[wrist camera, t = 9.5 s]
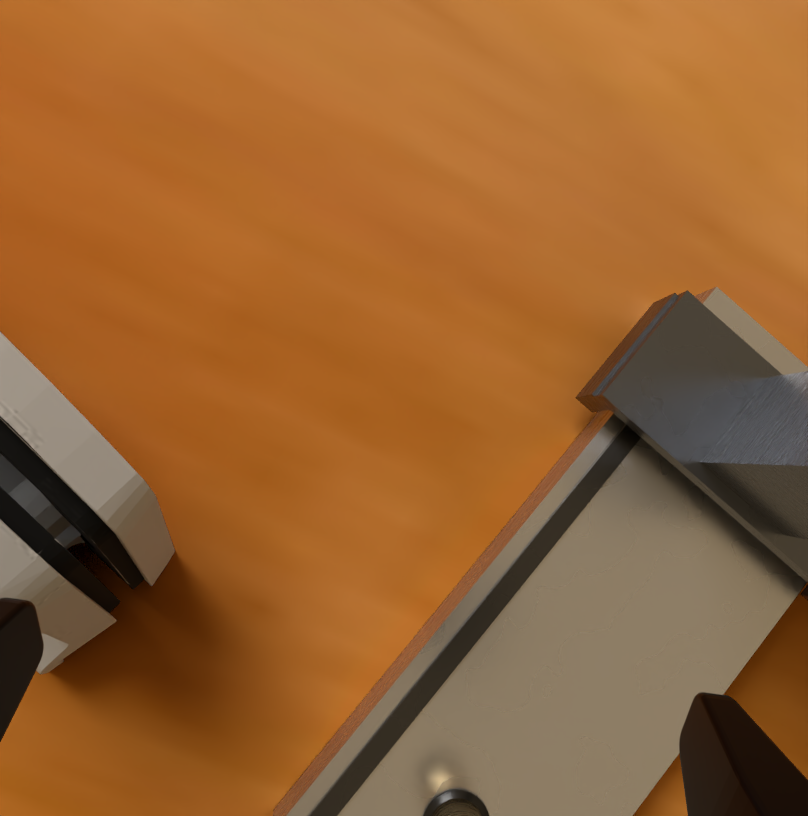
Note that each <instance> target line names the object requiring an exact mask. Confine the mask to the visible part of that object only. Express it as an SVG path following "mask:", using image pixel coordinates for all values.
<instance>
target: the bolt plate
mask: <svg viewBox="0 0 808 816" xmlns="http://www.w3.org/2000/svg"><path fill="white" fill-rule="evenodd" d="M694 297H695V298H697V299H698V300H699V301H700V302H701V303H702V304H703V305H704V306H706V307H707V308H708V309H709V310H710V311H711V312H712V313H713V314H715V315H716V316H717V317H718V318H719V319H720V320H721V321H722V322H724V323H725V324H726V325H727V326H728V327H729V328H730V329H732V330H733V331H734V332H735V333H736V334H737V335H738V336H739V337H741V338H742V339H743V340H744V341H745V342H746V343H747V344H748V345H750V346H751V347H752V348H753V349H754V350H755V351H756V352H757V353H759V354H760V355H761V356H762V357H763V358H764V359H765V360H767V361H768V362H769V363H770V364H771V365H772V366H773V367H774V368H776V369H777V370H778V371H779V372H780V373H781V374H782V375H787V374H793V373H799V372H805V371H808V367H807V366H806V365H804V364H803V363H802V362H801V361H800V360H799V359H798V358H797V357H795V356H794V355H793V354H792V353H791V352H790V351H789V350H787V349H786V348H785V347H784V346H783V345H782V344H781V343H780V342H778V341H777V340H776V339H775V338H774V337H773V336H772V335H771V334H769V333H768V332H767V331H766V330H765V329H764V328H763V327H762V326H760V325H759V324H758V323H757V322H756V321H755V320H754V319H753V318H751V317H750V316H749V315H748V314H747V313H746V312H745V311H744V310H742V309H741V308H740V307H739V306H738V305H737V304H736V303H735V302H733V301H732V300H731V299H730V298H729V297H728V296H727V295H726V294H724V293H723V292H722V291H721V290H720V289H719V288H718V287H714V288H712V289H710V290H708V291H705V292H703V293H701V294H698V295H696V296H694ZM806 583H807V582H806V581H805V580H804V579H803V578H802V577H800V576H799V575H798V574H797V573H796V572H795V571H794V570H792V569H791V568H790V567H789V566H788V565H787V564H786V563H784V562H783V561H782V560H781V559H780V558H779V557H778V556H776V555H775V554H774V553H773V552H772V551H771V550H769V549H768V548H767V547H766V546H765V545H764V544H763V543H761V542H760V541H759V540H758V539H757V538H756V537H755V536H753V535H752V534H751V533H750V532H749V531H748V530H747V529H745V528H744V527H743V526H742V525H741V524H740V523H739V522H737V521H736V520H735V519H734V518H733V517H732V516H731V515H729V514H728V513H727V512H726V511H725V510H724V509H723V508H721V507H720V506H719V505H718V504H717V503H716V502H715V501H713V500H712V499H711V498H710V497H709V496H708V495H707V494H705V493H704V492H703V491H702V490H701V489H700V488H699V487H697V486H696V485H695V484H694V483H693V482H692V481H691V480H689V479H688V478H687V477H686V476H685V475H684V474H683V473H681V472H680V471H679V470H678V469H677V468H676V467H675V466H673V465H672V464H671V463H670V462H669V461H668V460H667V459H665V458H664V457H663V456H662V455H661V454H660V453H659V452H657V451H656V450H655V449H654V448H653V447H652V446H651V445H649V444H648V443H647V442H646V441H645V440H644V439H642V438H641V437H640V436H639V435H638V434H637V433H636V432H634V431H633V430H632V429H631V428H630V427H629V426H628V425H626V424H625V423H624V422H623V421H622V420H621V419H620V418H618V417H617V416H616V415H615V414H614V413H613V412H612V411H610V410H605V411H599V412H598V413H597V414H596V416H595V417H594V418H593V419H592V420H591V422H590V423H589V424H588V425H587V427H586V428H585V429H584V430H583V432H582V433H581V434H580V435H579V436H578V438H577V439H576V440H575V441H574V443H573V444H572V445H571V446H570V447H569V449H568V450H567V451H566V452H565V454H564V455H563V456H562V457H561V458H560V460H559V461H558V462H557V463H556V465H555V466H554V467H553V468H552V469H551V471H550V472H549V473H548V474H547V476H546V477H545V478H544V479H543V480H542V482H541V483H540V484H539V485H538V487H537V488H536V489H535V490H534V492H533V493H532V494H531V495H530V496H529V498H528V499H527V500H526V501H525V503H524V504H523V505H522V506H521V507H520V509H519V510H518V511H517V512H516V514H515V515H514V516H513V517H512V518H511V520H510V521H509V522H508V523H507V525H506V526H505V527H504V528H503V529H502V531H501V532H500V533H499V534H498V536H497V537H496V538H495V539H494V541H493V542H492V543H491V544H490V545H489V547H488V548H487V549H486V550H485V552H484V553H483V554H482V555H481V556H480V558H479V559H478V560H477V561H476V563H475V564H474V565H473V566H472V567H471V569H470V570H469V571H468V572H467V574H466V575H465V576H464V577H463V578H462V580H461V581H460V582H459V583H458V585H457V586H456V587H455V588H454V589H453V591H452V592H451V593H450V594H449V596H448V597H447V598H446V599H445V601H444V602H443V603H442V604H441V605H440V607H439V608H438V609H437V610H436V612H435V613H434V614H433V615H432V616H431V618H430V619H429V620H428V621H427V623H426V624H425V625H424V626H423V627H422V629H421V630H420V631H419V632H418V634H417V635H416V636H415V637H414V638H413V640H412V641H411V642H410V643H409V645H408V646H407V647H406V648H405V649H404V651H403V652H402V653H401V654H400V656H399V657H398V658H397V659H396V661H395V662H394V663H393V664H392V665H391V667H390V668H389V669H388V670H387V672H386V673H385V674H384V675H383V676H382V678H381V679H380V680H379V681H378V683H377V684H376V685H375V686H374V687H373V689H372V690H371V691H370V692H369V694H368V695H367V696H366V697H365V698H364V700H363V701H362V702H361V703H360V705H359V706H358V707H357V708H356V709H355V711H354V712H353V713H352V714H351V716H350V717H349V718H348V719H347V721H346V722H345V723H344V724H343V725H342V727H341V728H340V729H339V730H338V732H337V733H336V734H335V735H334V736H333V738H332V739H331V740H330V741H329V743H328V744H327V745H326V746H325V747H324V749H323V750H322V751H321V752H320V754H319V755H318V756H317V757H316V758H315V760H314V761H313V762H312V763H311V765H310V766H309V767H308V768H307V769H306V771H305V772H304V773H303V774H302V776H301V777H300V778H299V779H298V781H297V782H296V783H295V784H294V785H293V787H292V788H291V789H290V790H289V792H288V793H287V794H286V795H285V796H284V798H283V799H282V800H281V801H280V803H279V804H278V805H277V806H276V807H275V809H274V811H273V816H633V814H634V813H635V812H636V810H637V809H638V808H639V806H640V805H641V804H642V802H643V801H644V800H645V798H646V797H647V796H648V794H649V793H650V792H651V790H652V789H653V788H654V786H655V785H656V784H657V782H658V781H659V780H660V778H661V777H662V776H663V774H664V773H665V772H666V770H667V769H668V768H669V766H670V765H671V764H672V762H673V761H674V760H675V758H676V757H677V756H678V754H679V753H680V752H679V739H680V734H681V730H682V728H683V725H684V722H685V720H686V717H687V714H688V712H689V709H690V706H691V704H692V701H693V699H694V697H695V696H696V695H697V694H698V693H700V692H706V693H713V694H720V695H723V694H724V693H725V691H726V690H727V689H728V687H729V686H730V685H731V683H732V682H733V681H734V679H735V678H736V677H737V675H738V674H739V673H740V671H741V670H742V669H743V667H744V666H745V665H746V663H747V662H748V661H749V659H750V658H751V657H752V655H753V654H754V653H755V651H756V650H757V649H758V647H759V646H760V645H761V643H762V642H763V641H764V639H765V638H766V637H767V635H768V634H769V633H770V631H771V630H772V629H773V627H774V626H775V625H776V623H777V622H778V621H779V619H780V618H781V617H782V615H783V614H784V613H785V611H786V610H787V608H788V607H789V606H790V604H791V603H792V602H793V600H794V599H795V598H796V596H797V595H798V594H799V592H800V591H801V590H802V588H803V587H804V586H805V584H806Z"/></svg>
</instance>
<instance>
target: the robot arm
mask: <svg viewBox="0 0 808 816" xmlns="http://www.w3.org/2000/svg"><path fill="white" fill-rule="evenodd" d="M43 650H44V643H43V638H42V633H41V629H40V624H39V620H38V616H37V611H36V608H35V606H34V604H33V603H32V602H31V601H28V600H22V599H14V598H0V742H1V740H2V738H3V736H4V734H5V732H6V730H7V728H8V726H9V724H10V722H11V720H12V718H13V716H14V714H15V712H16V710H17V708H18V706H19V704H20V702H21V700H22V698H23V696H24V693H25V691H26V689H27V687H28V685H29V683H30V681H31V679H32V677H33V675H34V673H35V671H36V669H37V667H38V665H39V663H40V661H41V658H42V655H43ZM679 752H680V760H681V767H682V775H683V782H684V789H685V797H686V804H687V811H688V816H808V780H807V779H806V777H805V776H804V775H803V774H802V773H801V772H800V771H799V770H798V769H797V768H796V767H795V765H794V764H793V763H792V762H791V761H790V760H789V759H788V758H787V757H786V756H785V755H784V753H783V752H782V751H781V750H780V749H779V748H778V747H777V746H776V745H775V744H774V742H773V741H772V740H771V739H770V738H769V737H768V736H767V735H766V734H765V733H764V732H763V730H762V729H761V728H760V727H759V726H758V725H757V724H756V723H755V722H754V721H753V719H752V718H751V717H750V716H749V715H748V714H747V713H746V712H745V711H744V710H743V709H742V707H741V706H740V705H739V704H738V703H737V702H736V701H735V700H734V699H732V698H731V697H729V696H726V695H720V694H713V693H706V692H700V693H698V694H697V695H696V696H695V697H694V699H693V701H692V704H691V706H690V709H689V712H688V714H687V717H686V720H685V722H684V725H683V728H682V730H681V734H680V739H679Z"/></svg>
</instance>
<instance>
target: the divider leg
mask: <svg viewBox="0 0 808 816" xmlns="http://www.w3.org/2000/svg"><path fill="white" fill-rule="evenodd" d="M576 399H577V400H579V401H580V402H581V403H582V404H583V405H584V406H585V407H587V408H588V409H589V410H590V411H591V412H598V411H605V410H610V411H612V412H613V413H614V414H615V415H616V416H617V417H618V418H620V419H621V420H622V421H623V422H624V423H625V424H626V425H628V426H629V427H630V428H631V429H632V430H633V431H634V432H636V433H637V434H638V435H639V436H640V437H641V438H642V439H644V440H645V441H646V442H647V443H648V444H649V445H651V446H652V447H653V448H654V449H655V450H656V451H657V452H659V453H660V454H661V455H662V456H663V457H664V458H665V459H667V460H668V461H669V462H670V463H671V464H672V465H673V466H675V467H676V468H677V469H678V470H679V471H680V472H681V473H683V474H684V475H685V476H686V477H687V478H688V479H689V480H691V481H692V482H693V483H694V484H695V485H696V486H697V487H699V488H700V489H701V490H702V491H703V492H704V493H705V494H707V495H708V496H709V497H710V498H711V499H712V500H713V501H715V502H716V503H717V504H718V505H719V506H720V507H721V508H723V509H724V510H725V511H726V512H727V513H728V514H729V515H731V516H732V517H733V518H734V519H735V520H736V521H737V522H739V523H740V524H741V525H742V526H743V527H744V528H745V529H747V530H748V531H749V532H750V533H751V534H752V535H753V536H755V537H756V538H757V539H758V540H759V541H760V542H761V543H763V544H764V545H765V546H766V547H767V548H768V549H769V550H771V551H772V552H773V553H774V554H775V555H776V556H778V557H779V558H780V559H781V560H782V561H783V562H784V563H786V564H787V565H788V566H789V567H790V568H791V569H792V570H794V571H795V572H796V573H797V574H798V575H799V576H800V577H802V578H803V579H804V580H805V581H806V582H807V583H808V371H805V372H799V373H793V374H787V375H782V374H781V373H780V372H779V371H778V370H777V369H776V368H774V367H773V366H772V365H771V364H770V363H769V362H768V361H767V360H765V359H764V358H763V357H762V356H761V355H760V354H759V353H757V352H756V351H755V350H754V349H753V348H752V347H751V346H750V345H748V344H747V343H746V342H745V341H744V340H743V339H742V338H741V337H739V336H738V335H737V334H736V333H735V332H734V331H733V330H732V329H730V328H729V327H728V326H727V325H726V324H725V323H724V322H722V321H721V320H720V319H719V318H718V317H717V316H716V315H715V314H713V313H712V312H711V311H710V310H709V309H708V308H707V307H706V306H704V305H703V304H702V303H701V302H700V301H699V300H698V299H697V298H695V297H694V296H693V295H692V294H691V293H690V292H689V291H685V292H683V293H681V294H679V295H677V294H676V293H674V294H671V295H669V296H667V297H665V298H663V299H661V300H659V301H656V302H654V303H653V304H652V305H651V307H650V308H649V309H648V310H647V311H646V313H645V314H644V315H643V316H642V318H641V319H640V320H639V321H638V322H637V324H636V325H635V326H634V327H633V328H632V330H631V331H630V332H629V333H628V334H627V336H626V337H625V338H624V339H623V341H622V342H621V343H620V344H619V345H618V347H617V348H616V349H615V350H614V351H613V353H612V354H611V355H610V356H609V358H608V359H607V360H606V361H605V362H604V364H603V365H602V366H601V367H600V368H599V370H598V371H597V372H596V373H595V375H594V376H593V377H592V378H591V379H590V381H589V382H588V383H587V384H586V385H585V387H584V388H583V389H582V390H581V392H580V393H579V394H578V395H577V396H576ZM801 595H802V596H803V597H804V598H805V599H807V600H808V585H807V586H806V588H805V589H804V591H803V592H802V593H801Z"/></svg>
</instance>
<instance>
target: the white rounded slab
mask: <svg viewBox="0 0 808 816" xmlns="http://www.w3.org/2000/svg"><path fill="white" fill-rule="evenodd" d="M79 543H86V544H87V545H88V546H89V547H90V549H91V550H92V551H93V552H94V553H95V554H96V555H97V556H98V557H99V558H100V559H101V560H102V561H103V562H105V563H106V564H107V565H108V566H109V567H110V568H111V569H112V570H113V571H114V572H115V573H116V574H117V575H118V576H119V577H120V578H121V579H122V580H123V581H124V582H125V583H127V584H128V585H129V586H130V587H131V588H132V589H135V588H136V587H137V586H138V585H139V584H140V583H141V582H142V581H143V580H145V581H146V582H148V583H149V584H150V585H151V586H153V584H154V583H155V581H156V580H157V578H158V577H159V575H160V574H161V572H162V571H163V569H164V568H165V567H166V565H167V564H168V562H169V560H170V559H171V557H172V555H173V554H174V552H175V549H174V546H173V543H172V540H171V538H170V535H169V532H168V529H167V526H166V523H165V520H164V518H163V515H162V512H161V509H160V506H159V503H158V501H157V498H156V496H155V494H154V492H153V491H152V490H151V488H150V487H149V486H148V485H147V483H146V482H145V481H144V479H143V478H142V477H141V476H140V475H139V474H138V473H137V472H136V471H135V470H134V469H133V468H132V467H131V466H130V465H129V464H128V462H127V461H126V460H125V459H124V458H123V457H122V456H121V455H120V454H119V453H118V452H117V451H116V450H115V449H114V448H113V447H112V446H111V445H110V443H109V442H108V441H107V440H106V439H105V438H104V437H103V436H102V435H101V434H100V433H99V432H98V431H97V430H96V429H95V428H94V427H93V426H92V425H91V424H90V423H89V421H88V420H87V419H86V418H85V417H84V416H83V415H82V414H81V413H80V412H79V411H78V410H77V409H76V408H75V407H74V406H73V405H72V404H71V403H70V402H69V401H68V400H67V399H66V398H65V397H64V396H63V395H62V394H61V392H60V391H59V390H58V389H57V388H56V387H55V386H54V385H53V384H52V383H51V382H50V381H49V380H48V379H47V378H46V377H45V376H44V375H43V374H42V373H41V372H40V371H39V370H38V369H37V368H36V367H35V366H34V365H33V364H32V363H31V362H30V361H29V360H28V359H27V358H26V357H25V356H24V355H23V354H22V353H21V352H20V351H19V350H18V349H17V348H16V347H15V346H14V345H13V344H12V343H11V342H10V341H9V340H8V339H7V338H6V337H5V336H4V335H3V334H2V333H1V332H0V598H14V599H22V600H28V601H31V602H32V603H33V604H34V606H35V608H36V611H37V616H38V620H39V624H40V629H41V633H42V638H43V643H44V650H43V655H42V658H41V661H40V663H39V665H38V667H37V669H36V671H37V672H38V673H39V674H45V673H48V672H50V671H51V670H53V669H54V668H55V667H57V666H58V665H60V664H61V663H62V662H64V660H63V659H64V658H65V657H67V656H68V655H70V654H71V653H72V652H74V651H75V650H77V649H78V648H80V647H81V646H82V645H84V644H85V643H87V642H88V641H89V640H91V639H92V638H94V637H95V636H97V635H98V634H99V633H101V632H102V631H104V630H105V629H106V628H108V627H109V626H111V625H112V624H114V623H115V622H116V621H117V620H116V619H115V618H114V617H113V616H112V615H111V614H110V612H111V611H112V610H113V609H114V608H115V607H116V606H117V605H118V604H119V603H120V600H119V599H117V598H116V597H115V596H114V595H113V594H112V593H111V592H110V591H109V590H108V589H107V588H106V587H105V586H104V585H103V584H102V583H101V582H100V581H99V580H98V579H97V578H96V577H95V576H94V575H93V574H92V573H91V572H90V571H89V570H88V569H87V568H86V567H85V566H84V565H83V564H82V563H80V562H79V561H78V560H77V559H76V558H75V557H74V556H73V555H72V554H71V553H70V552H69V551H68V550H67V549H68V548H69V547H71V546H72V545H75V544H79Z"/></svg>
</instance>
